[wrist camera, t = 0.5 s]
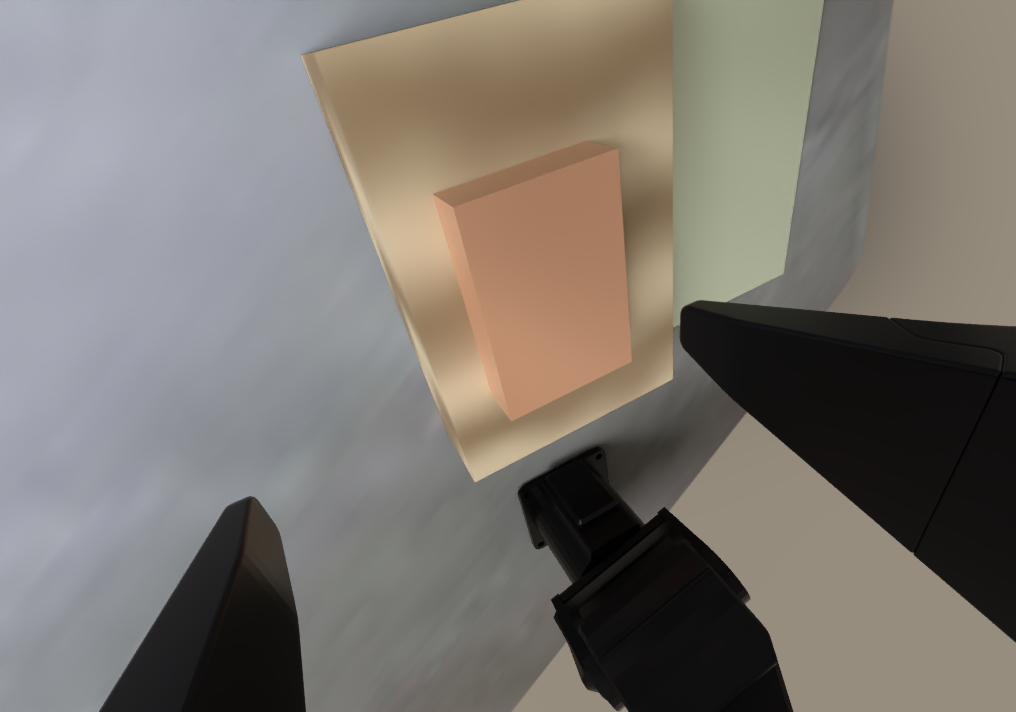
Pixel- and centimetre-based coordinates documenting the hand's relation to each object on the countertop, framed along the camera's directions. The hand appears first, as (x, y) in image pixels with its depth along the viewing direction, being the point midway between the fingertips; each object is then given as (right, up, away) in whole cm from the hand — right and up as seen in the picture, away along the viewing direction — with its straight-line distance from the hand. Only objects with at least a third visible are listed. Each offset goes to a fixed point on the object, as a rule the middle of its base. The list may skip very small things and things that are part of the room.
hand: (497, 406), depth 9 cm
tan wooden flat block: (0, +6, +13) cm, 15 cm away
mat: (+11, +11, +16) cm, 23 cm away
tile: (+1, +4, +10) cm, 11 cm away
